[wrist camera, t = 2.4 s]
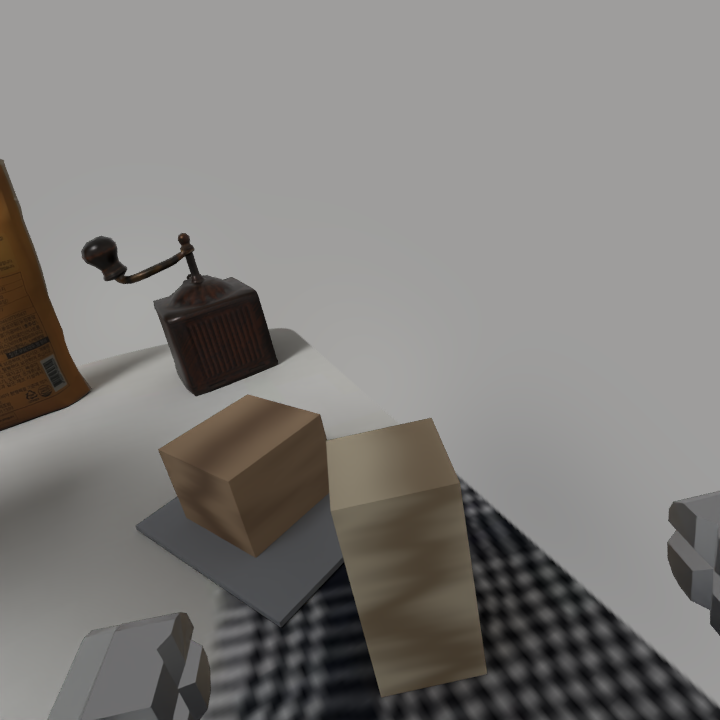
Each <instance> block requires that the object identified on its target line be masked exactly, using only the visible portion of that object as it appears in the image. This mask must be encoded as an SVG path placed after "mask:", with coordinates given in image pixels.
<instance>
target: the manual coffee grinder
mask: <svg viewBox="0 0 720 720" xmlns="http://www.w3.org/2000/svg"><path fill="white" fill-rule="evenodd" d="M178 241H179V243H180V244H181V248H180V249H181V252H180V253H178V254H176V255H174V256H173V257H172V258H169V259H167V260H166V261H163V262H161V263H159V264H156V265H154V266H152V267H150V268H148V269H146V270H143V271H141V272H139V273H137V274H134V275H131V276H124V274H125V272H126V270H127V267H126V266H124V265H123V264H122V263H121V262H119V260H118V256H117V246H116V243H115V242H114V241H113V240H112V239H111V238H108V237H103V236H99V237H96V238H94V239H93V240H91V241H89V242H87V243H86V244H85V246H84V247H83V249H82V251H81V252H82V258H83V259H84V261H85V262H86V263H87V264H90V265H92V266H95V267H96V268H98V269H100V270H101V271H102V273H103V275H104V280H105V281H111V280H116V281H117V282H119V283H122V284H131V283H135V282H138V281H141V280H143V279H145V278H148V277H150V276H152V275H154V274H156V273H158V272H160V271H162V270H164V269H167V268H169V267H171V266H173V265H174V264H176V263H177V262H178V261H179V260H181V259H182V258H183V257H186V260H187V263H188V266H189V269H190V272H191V274H189V275H188V276H187V280H185V281H184V282H183V284H182V285H181V286H180V287H179V288H178V289H177V290H176V291H175V292H174V293H173V294H172V295H171V296H169V297H166V298H162V299H159V300H156V301H153V302H154V307H155V309H156V311H157V313H158V316H159V319H160V322H161V324H162V327H163V330H164V333H165V336H166V339H167V342H168V345H169V348H170V350H171V353H172V356H173V359H174V362H175V367H176V370H177V373H178V375H179V377H180V379H181V381H182V382H183V384H184V385H185V387H186V388H187V390H189V391H190V392H191V393H192V394H194V395H195V396H198V395H201V394H205V393H208V392H211V391H214V390H216V389H219V388H221V387H224V386H227V385H229V384H232V383H234V382H237V381H239V380H242V379H245V378H247V377H249V376H252V375H254V374H256V373H259V372H261V371H263V370H266V369H268V368H270V367H273V366H275V365H277V364H278V360H277V358H276V355H275V351H274V348H273V344H272V341H271V337H270V334H269V330H268V327H267V323H266V320H265V317H264V313H263V310H262V307H261V303H260V301H259V297H258V294H257V292H256V291H255V290H254V289H253V288H251V287H249V286H247V285H245V284H244V283H242V282H240V281H239V280H237V279H235V278H233V277H230V278H227V279H224V280H222V279H219V278H215V277H211V276H208V275H206V276H202V275H201V274H199V271H198V268H197V265H196V262H195V259H194V256H193V253H192V252H193V251H194V247H193V246H192V245H191V244H190V238H189V236H188V235H187V234H186V233H181V234H180V235H179V236H178Z"/></svg>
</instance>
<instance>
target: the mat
mask: <svg viewBox="0 0 720 720" xmlns="http://www.w3.org/2000/svg"><path fill="white" fill-rule="evenodd" d="M136 528H137V530H138V531H140V532H141V533H143V534H144V535H145V536H147V537H148V538H150V539H151V540H153V541H154V542H156V543H157V544H159V545H160V546H162V547H163V548H165V549H166V550H168V551H169V552H170V553H172V554H173V555H175V556H176V557H178V558H179V559H181V560H182V561H184V562H185V563H187V564H188V565H190V566H191V567H192V568H194V569H195V570H197V571H198V572H200V573H201V574H203V575H204V576H206V577H207V578H209V579H210V580H212V581H213V582H215V583H216V584H217V585H219V586H220V587H222V588H223V589H225V590H226V591H228V592H229V593H231V594H232V595H234V596H235V597H237V598H238V599H239V600H241V601H242V602H244V603H245V604H247V605H248V606H250V607H251V608H253V609H254V610H256V611H257V612H259V613H260V614H262V615H263V616H264V617H266V618H267V619H269V620H270V621H272V622H273V623H275V624H276V625H278V626H279V627H282V626H283V625H284V624H285V623H286V622H287V621H288V620H289V619H290V618H291V617H292V616H293V615H294V614H295V613H296V612H297V611H298V610H299V609H300V608H301V607H302V605H303V604H304V603H305V602H306V601H307V600H308V599H309V598H310V597H311V596H312V595H313V594H314V593H315V592H316V591H317V590H318V589H319V588H320V587H321V586H322V585H323V584H324V582H325V581H326V580H327V579H328V578H329V577H330V576H331V575H332V574H333V573H334V572H335V571H336V570H337V569H338V568H339V567H340V566H341V565H342V564H343V563H344V559H343V555H342V551H341V548H340V544H339V540H338V537H337V533H336V529H335V526H334V522H333V518H332V515H331V510H330V495H329V493H328V494H327V495H326V496H325V497H324V498H323V499H322V500H320V501H319V502H318V503H317V504H316V505H315V506H314V507H313V508H311V509H310V510H309V511H308V512H307V513H306V514H305V515H304V516H302V517H301V518H300V519H299V520H298V521H297V522H296V523H295V524H293V525H292V526H291V527H290V528H289V529H288V530H287V531H286V532H284V533H283V534H282V535H281V536H280V537H279V538H278V539H277V540H275V541H274V542H273V543H272V544H271V545H270V546H269V547H268V548H266V549H265V550H264V551H263V552H262V553H261V554H260V555H259V556H257V557H256V558H255V557H253V556H251V555H250V554H248V553H246V552H245V551H243V550H241V549H239V548H238V547H236V546H234V545H233V544H231V543H229V542H227V541H226V540H224V539H222V538H220V537H219V536H217V535H215V534H214V533H212V532H210V531H208V530H207V529H205V528H203V527H202V526H200V525H198V524H196V523H195V522H193V521H191V520H189V519H188V518H186V516H185V513H184V511H183V508H182V506H181V503H180V501H179V499H178V496H177V497H176V498H174V499H173V500H172V501H170V502H169V503H167V504H166V505H164V506H163V507H162V508H160V509H159V510H157V511H156V512H154V513H153V514H152V515H150V516H149V517H147V518H146V519H144V520H143V521H142V522H140V523H139V524H137V525H136Z"/></svg>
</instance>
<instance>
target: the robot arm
mask: <svg viewBox="0 0 720 720" xmlns="http://www.w3.org/2000/svg"><path fill="white" fill-rule="evenodd" d="M668 521H669V522H670V523H671V524H672V525H673V527H674V528H675V529H676V531H675V533H674V534H673V535H672V537H671V538H670V539H669V541H668V542H667V545H668V561H669V564H670V566H671V570H672V573H673V575H674V577H675V579H676V580H677V582H678V584H679V586H680V587H681V589H682V590H683V591H684V592H685V594H686V595H687V596H688V597H689V599H690V600H691V601H693V602H695V603H697V604H699V605H701V606H703V607H705V608H707V609H709V610H710V624H711V626H712V627H713V628H714V629H715V630H716V632H717V633H718V634H719V635H720V491H717V492H713V493H708V494H704V495H700V496H696V497H691V498H687V499H683V500H679V501H674V502H673V504H672V505H671V507H670V508H669V520H668ZM193 628H194V627H193V625H192V623H191V621H190V619H189V617H188V615H187V613H181V612H180V613H175V614H169V615H164V616H159V617H154V618H149V619H144V620H139V621H134V622H129V623H124V624H121V625H117V626H112V627H107V628H102V629H96V630H92V631H91V632H90V633H89V634H88V635H87V636H86V637H85V638H84V639H83V641H82V643H81V645H80V647H79V650H78V652H77V654H76V656H75V659H74V661H73V663H72V665H71V668H70V670H69V672H68V674H67V677H66V679H65V681H64V683H63V685H62V688H61V690H60V692H59V694H58V697H57V699H56V701H55V703H54V706H53V708H52V710H51V712H50V714H49V717H48V719H47V720H200V719H201V717H202V716H203V715H204V713H205V712H206V711H207V709H208V705H209V698H210V692H211V680H210V667H209V663H208V658H207V655H206V653H205V651H204V648H203V646H202V645H200V644H198V643H196V642H194V641H193V640H191V637H192V633H193Z"/></svg>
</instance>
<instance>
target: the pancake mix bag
mask: <svg viewBox="0 0 720 720" xmlns="http://www.w3.org/2000/svg"><path fill="white" fill-rule="evenodd" d="M91 389H92V388H91V387H90V386H89V384H88V383H87V382H86V381H85V379H84V378H83V376H82V375H81V374H80V372H79V371H78V369H77V367H76V365H75V363H74V362H73V360H72V358H71V356H70V354H69V351H68V349H67V346H66V343H65V340H64V335H63V330H62V328H61V326H60V323H59V321H58V319H57V316H56V314H55V311H54V308H53V306H52V304H51V301H50V299H49V296H48V292H47V288H46V284H45V280H44V276H43V272H42V269H41V266H40V263H39V260H38V257H37V255H36V251H35V248H34V245H33V243H32V240H31V238H30V235H29V233H28V230H27V228H26V225H25V222H24V220H23V215H22V211H21V206H20V204H19V201H18V199H17V196H16V194H15V191H14V188H13V186H12V183H11V180H10V178H9V175H8V172H7V170H6V167H5V164H4V160H1V159H0V430H3V429H6V428H9V427H11V426H14V425H17V424H19V423H22V422H25V421H27V420H30V419H33V418H36V417H38V416H41V415H44V414H47V413H50V412H53V411H56V410H59V409H62V408H65V407H67V406H69V405H71V404H73V403H75V402H76V401H78V400H79V399H81V398H82V397H83V396H85V395H86V394H87V393H88V392H89V391H90V390H91Z"/></svg>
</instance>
